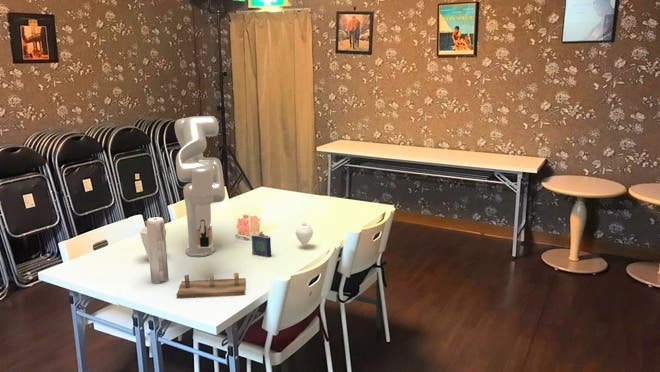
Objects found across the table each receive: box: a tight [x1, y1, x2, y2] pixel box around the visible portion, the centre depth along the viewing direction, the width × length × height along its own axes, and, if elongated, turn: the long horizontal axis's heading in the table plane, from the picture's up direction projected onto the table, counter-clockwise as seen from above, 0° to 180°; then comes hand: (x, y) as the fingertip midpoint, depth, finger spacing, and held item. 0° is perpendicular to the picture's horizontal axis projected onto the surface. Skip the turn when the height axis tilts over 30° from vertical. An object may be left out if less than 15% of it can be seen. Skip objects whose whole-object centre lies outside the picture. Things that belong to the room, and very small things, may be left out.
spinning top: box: [295, 221, 314, 249], centre depth 247 cm, size 8×8×12 cm
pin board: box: [176, 272, 247, 299], centre depth 204 cm, size 12×24×6 cm, turn 96°
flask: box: [251, 231, 272, 258], centre depth 239 cm, size 9×3×11 cm, turn 65°
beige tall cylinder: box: [146, 216, 170, 285], centre depth 211 cm, size 6×6×25 cm
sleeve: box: [197, 225, 214, 248], centre depth 213 cm, size 5×5×7 cm
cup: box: [139, 226, 167, 262], centre depth 233 cm, size 10×10×14 cm
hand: (205, 243), depth 214 cm, fingers closed on sleeve, 5 cm apart
